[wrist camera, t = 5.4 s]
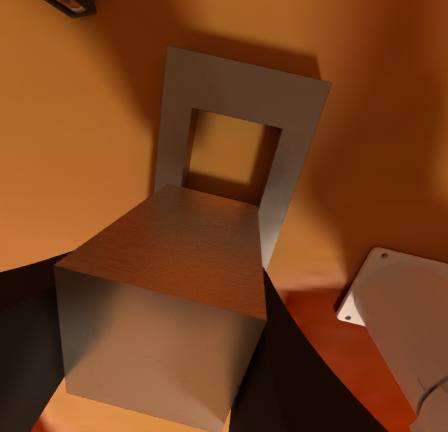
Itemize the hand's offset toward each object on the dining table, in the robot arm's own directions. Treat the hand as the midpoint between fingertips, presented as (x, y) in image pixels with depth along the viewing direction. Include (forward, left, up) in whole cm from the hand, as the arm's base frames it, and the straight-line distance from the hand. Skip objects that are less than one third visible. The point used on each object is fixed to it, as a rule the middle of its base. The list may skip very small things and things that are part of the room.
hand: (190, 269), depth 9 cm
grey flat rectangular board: (0, +1, -10) cm, 10 cm away
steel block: (0, 0, -3) cm, 3 cm away
